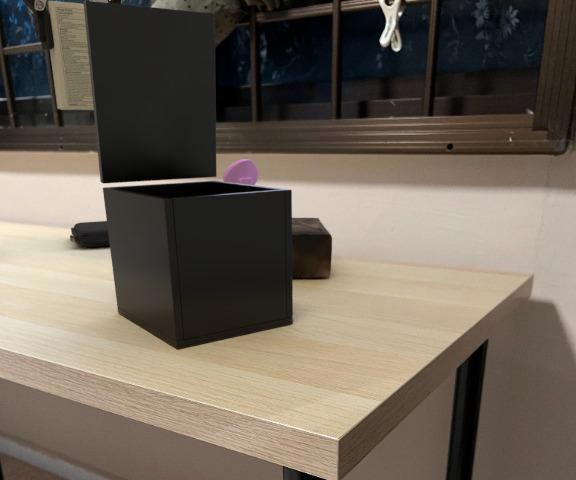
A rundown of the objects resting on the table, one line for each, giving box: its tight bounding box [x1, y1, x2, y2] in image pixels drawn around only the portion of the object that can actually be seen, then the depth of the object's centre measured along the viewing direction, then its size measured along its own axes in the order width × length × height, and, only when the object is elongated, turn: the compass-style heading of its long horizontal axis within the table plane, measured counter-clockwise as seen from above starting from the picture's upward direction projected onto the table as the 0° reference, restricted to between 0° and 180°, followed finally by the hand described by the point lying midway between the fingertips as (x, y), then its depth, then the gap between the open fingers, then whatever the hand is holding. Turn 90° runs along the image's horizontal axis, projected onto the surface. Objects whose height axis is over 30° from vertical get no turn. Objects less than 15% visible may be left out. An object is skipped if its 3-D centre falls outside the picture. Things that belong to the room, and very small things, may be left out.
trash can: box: [102, 180, 294, 350], centre depth 65 cm, size 16×14×14 cm
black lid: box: [82, 0, 217, 184], centre depth 66 cm, size 16×14×6 cm
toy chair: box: [222, 158, 259, 185], centre depth 99 cm, size 8×9×15 cm
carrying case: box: [69, 220, 110, 248], centre depth 114 cm, size 11×3×15 cm
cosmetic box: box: [45, 0, 94, 111], centre depth 79 cm, size 6×4×12 cm
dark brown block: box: [292, 217, 333, 279], centre depth 91 cm, size 8×19×7 cm, turn 2°
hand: (76, 50), depth 79 cm, fingers closed on cosmetic box, 6 cm apart
